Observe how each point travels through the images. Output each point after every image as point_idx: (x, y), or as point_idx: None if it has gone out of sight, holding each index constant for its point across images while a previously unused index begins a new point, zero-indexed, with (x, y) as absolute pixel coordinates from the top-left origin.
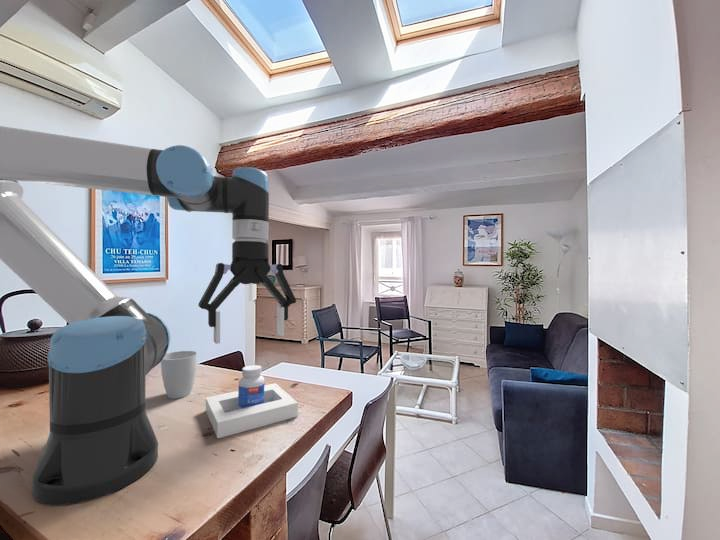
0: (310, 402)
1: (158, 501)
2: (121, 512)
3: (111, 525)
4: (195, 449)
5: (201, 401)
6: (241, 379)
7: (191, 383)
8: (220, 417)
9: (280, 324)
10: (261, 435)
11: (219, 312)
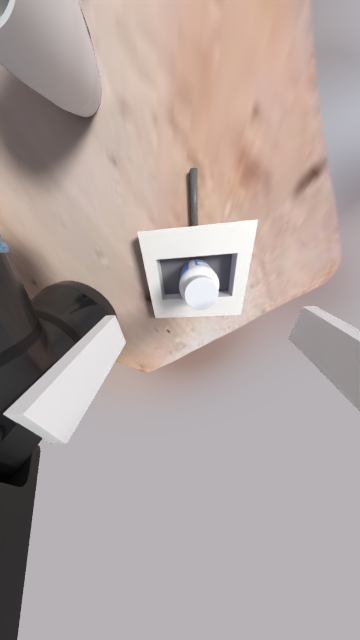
0: (271, 279)
1: (130, 354)
2: None
3: None
4: (142, 317)
5: (133, 177)
6: (182, 290)
7: (90, 84)
8: (157, 309)
9: (318, 363)
10: (192, 322)
11: (67, 438)
